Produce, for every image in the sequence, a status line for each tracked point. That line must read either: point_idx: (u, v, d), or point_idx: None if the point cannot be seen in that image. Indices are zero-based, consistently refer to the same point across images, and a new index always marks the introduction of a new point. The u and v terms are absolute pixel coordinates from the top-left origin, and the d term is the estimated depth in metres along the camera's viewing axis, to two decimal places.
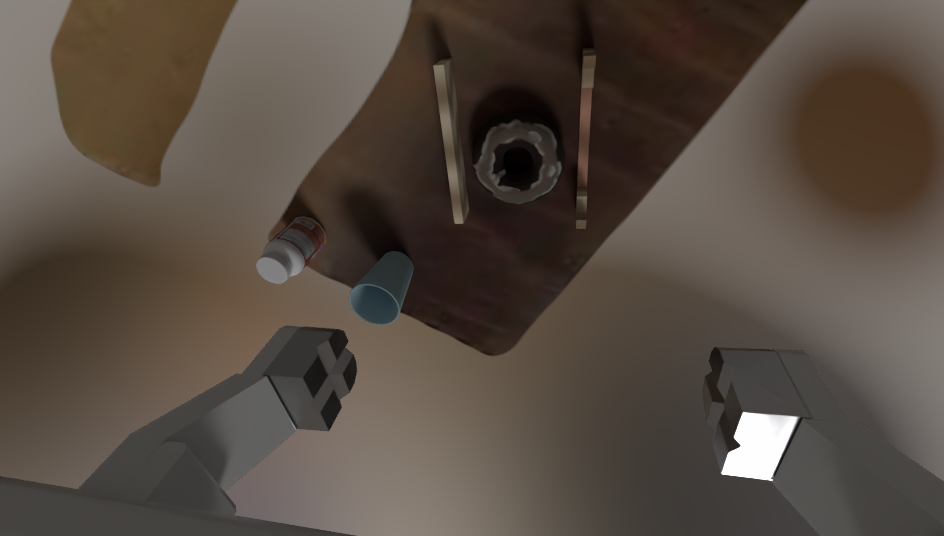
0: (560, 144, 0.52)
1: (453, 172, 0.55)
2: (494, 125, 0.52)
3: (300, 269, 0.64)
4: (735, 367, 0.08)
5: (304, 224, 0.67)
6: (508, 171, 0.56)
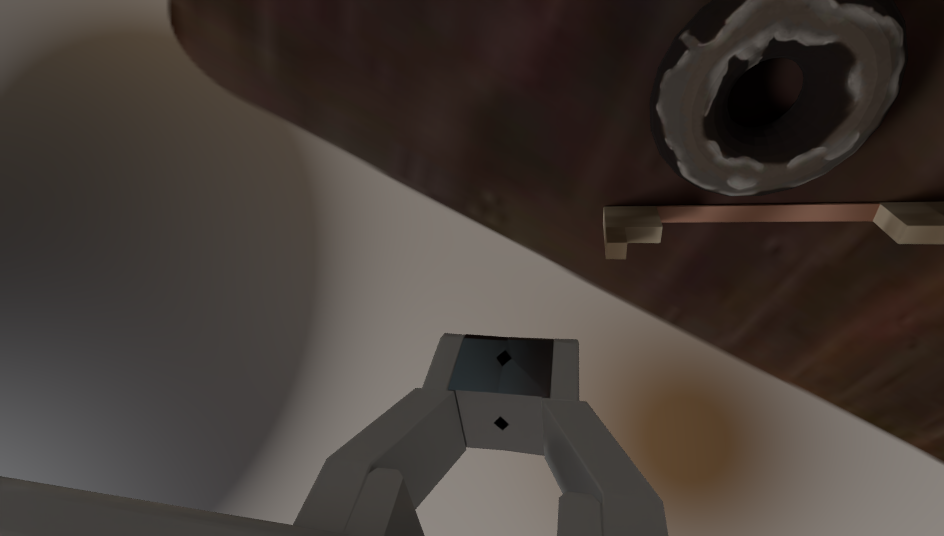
0: None
1: None
2: (904, 36, 0.20)
3: None
4: (511, 354, 0.09)
5: None
6: None
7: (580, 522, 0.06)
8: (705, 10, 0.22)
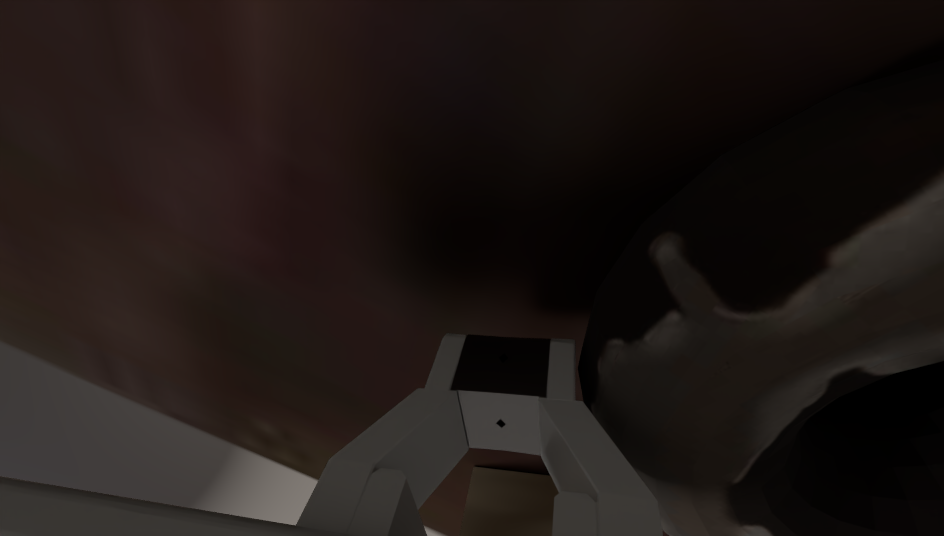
0: None
1: None
2: None
3: None
4: (508, 354, 0.09)
5: None
6: None
7: (575, 521, 0.06)
8: (740, 183, 0.06)
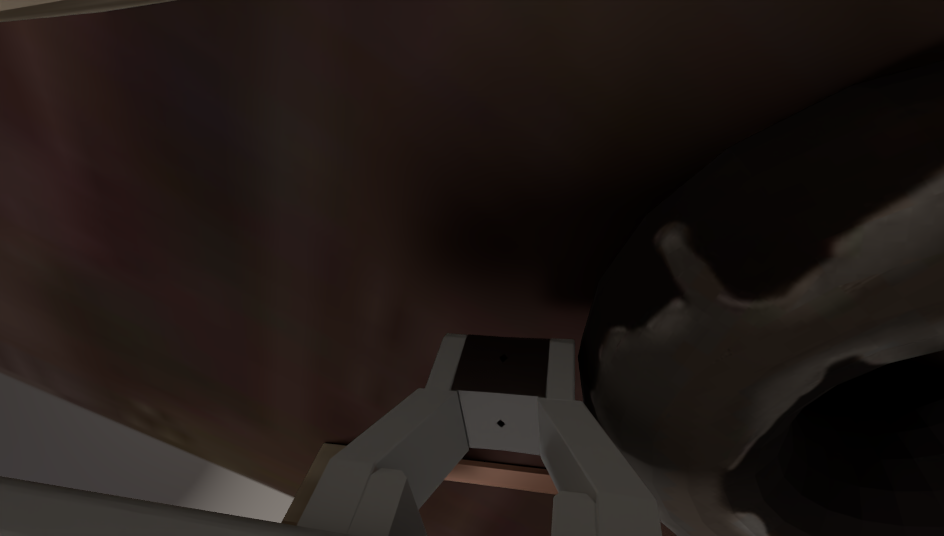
0: None
1: None
2: None
3: None
4: (508, 354, 0.09)
5: None
6: None
7: (574, 521, 0.06)
8: (747, 174, 0.06)
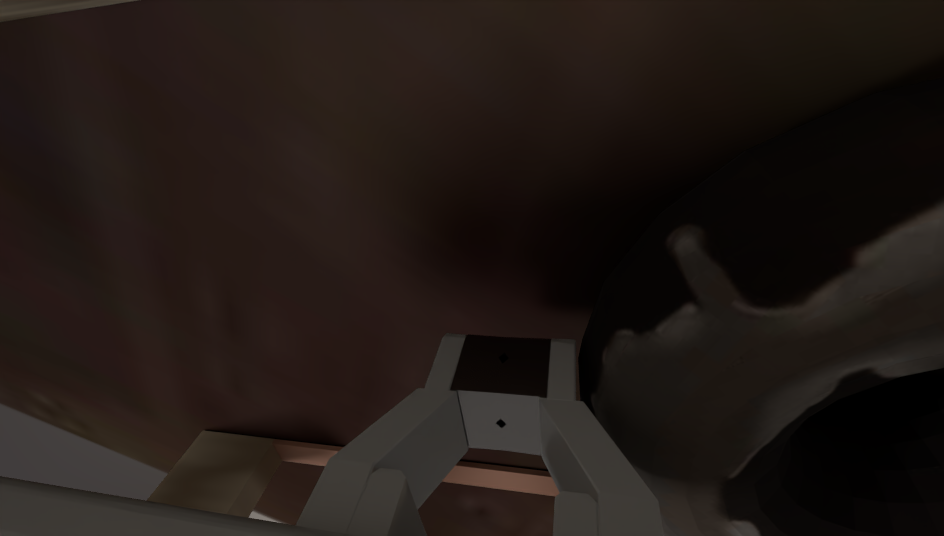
0: None
1: None
2: None
3: None
4: (509, 354, 0.09)
5: None
6: None
7: (576, 521, 0.06)
8: (768, 179, 0.06)
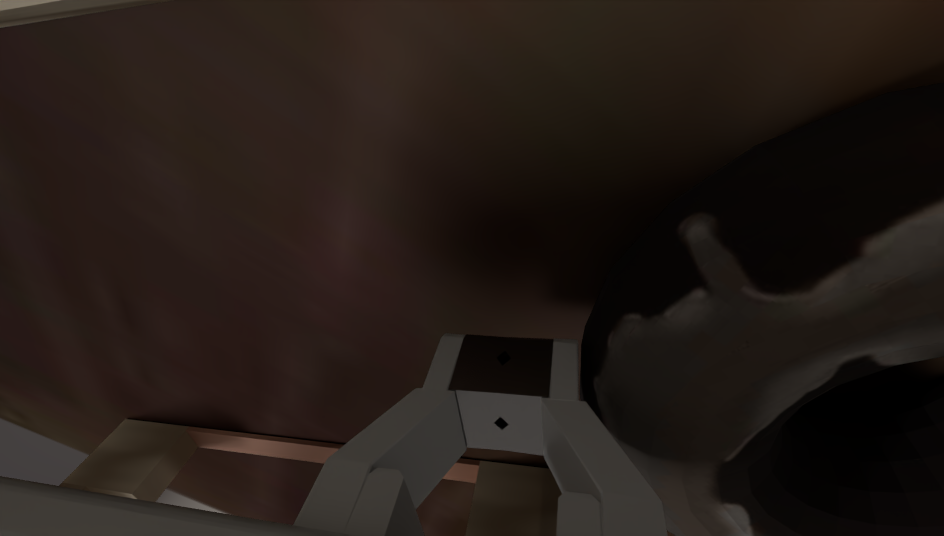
0: None
1: None
2: None
3: None
4: (511, 354, 0.09)
5: None
6: None
7: (579, 522, 0.06)
8: (781, 170, 0.06)
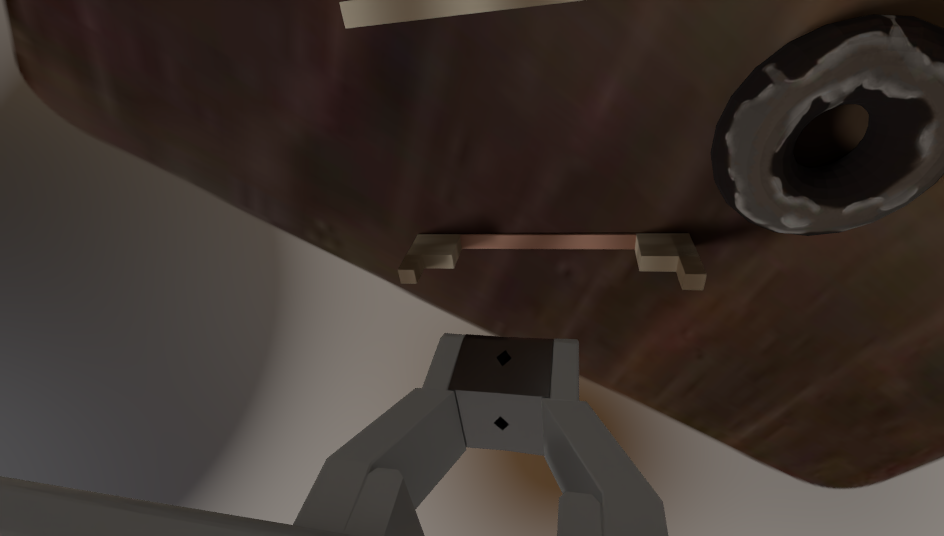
0: None
1: (480, 1, 0.21)
2: None
3: None
4: (512, 354, 0.09)
5: None
6: None
7: (580, 522, 0.06)
8: (795, 46, 0.21)
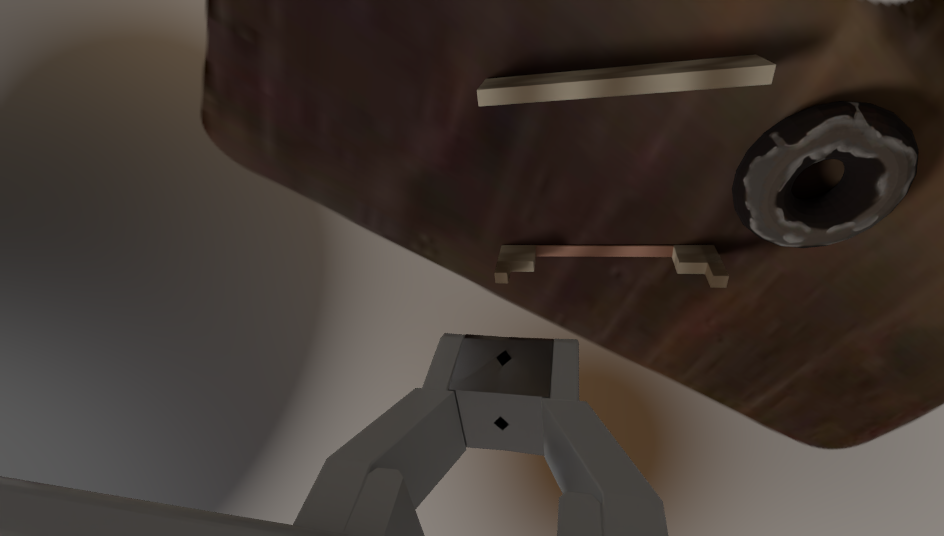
0: None
1: (577, 92, 0.32)
2: (916, 159, 0.31)
3: None
4: (511, 354, 0.09)
5: None
6: None
7: (580, 522, 0.06)
8: (792, 121, 0.31)
